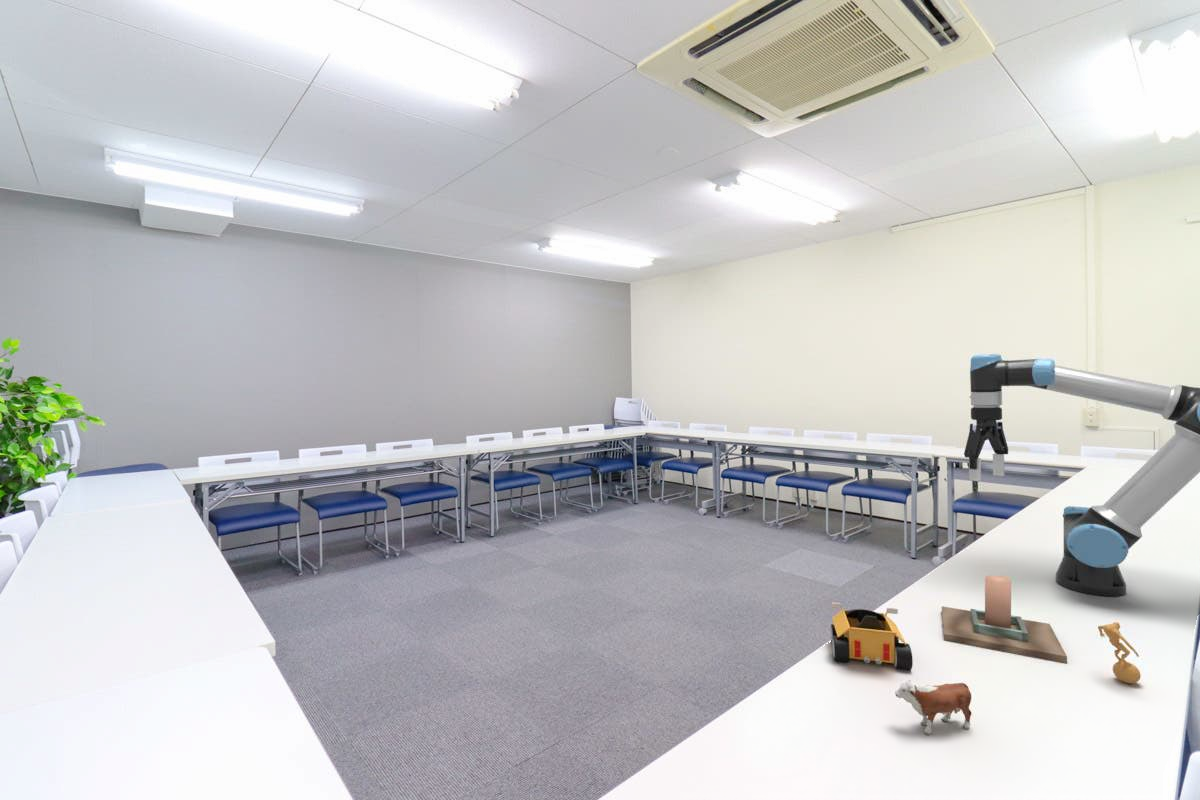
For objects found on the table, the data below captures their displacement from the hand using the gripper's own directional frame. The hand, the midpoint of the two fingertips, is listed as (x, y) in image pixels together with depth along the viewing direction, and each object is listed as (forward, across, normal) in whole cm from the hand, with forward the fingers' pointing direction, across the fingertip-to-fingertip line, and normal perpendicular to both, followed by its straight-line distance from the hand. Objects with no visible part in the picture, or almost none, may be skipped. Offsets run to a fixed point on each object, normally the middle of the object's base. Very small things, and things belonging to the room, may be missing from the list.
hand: (987, 478), depth 159 cm
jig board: (+32, +34, +18) cm, 50 cm away
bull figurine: (+32, +82, +30) cm, 93 cm away
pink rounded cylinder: (+30, +34, +18) cm, 49 cm away
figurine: (+32, +37, +40) cm, 63 cm away
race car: (+32, +69, +8) cm, 76 cm away
